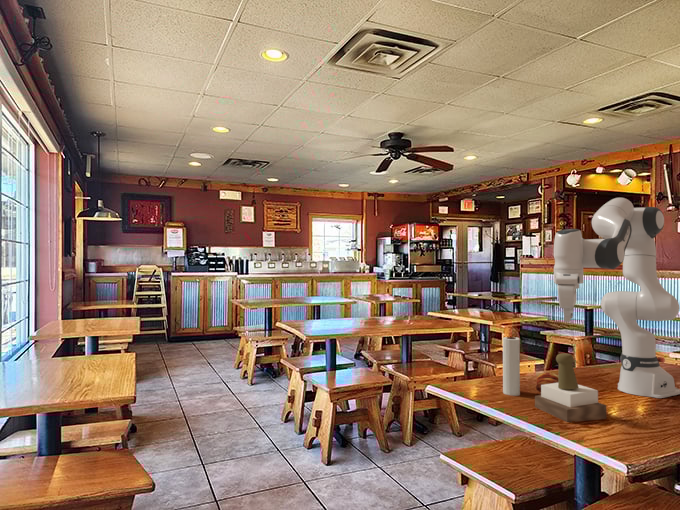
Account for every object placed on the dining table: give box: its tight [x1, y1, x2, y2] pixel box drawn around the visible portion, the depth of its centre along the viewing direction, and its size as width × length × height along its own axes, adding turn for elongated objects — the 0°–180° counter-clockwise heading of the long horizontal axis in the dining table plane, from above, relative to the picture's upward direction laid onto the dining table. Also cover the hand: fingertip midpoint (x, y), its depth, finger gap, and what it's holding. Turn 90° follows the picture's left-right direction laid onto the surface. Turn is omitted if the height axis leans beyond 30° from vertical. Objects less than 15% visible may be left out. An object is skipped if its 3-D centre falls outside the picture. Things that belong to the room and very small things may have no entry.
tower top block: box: [540, 383, 599, 407], centre depth 154 cm, size 12×12×4 cm
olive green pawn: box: [555, 352, 579, 389], centre depth 153 cm, size 6×6×11 cm
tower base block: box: [534, 394, 607, 423], centre depth 153 cm, size 15×15×5 cm
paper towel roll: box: [502, 336, 521, 397], centre depth 174 cm, size 7×6×21 cm
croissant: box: [535, 372, 558, 393], centre depth 178 cm, size 21×10×8 cm
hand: (568, 319), depth 152 cm, fingers open, 8 cm apart
